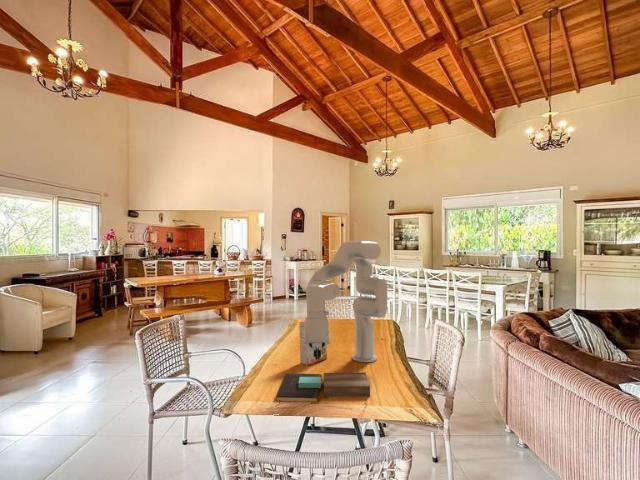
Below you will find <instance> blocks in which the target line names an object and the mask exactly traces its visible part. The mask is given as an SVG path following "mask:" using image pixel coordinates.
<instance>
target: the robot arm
mask: <svg viewBox="0 0 640 480" xmlns="http://www.w3.org/2000/svg"><path fill="white" fill-rule="evenodd" d="M381 253H382V249H381V246H380V244H379V243H378V242H376V241H365V240H346V241H344V242H342V243H341V244H340V246H339V248H338V249H337V251H336V253H335V254H334V256H333V258H332V259H331V261H330V262H328V263H326V264H325V265H323V266H322V267H320V268H319V269H317V270H316V271H315V272H314V273H313V274H312V276H311V278H310V280H309V282H308V284H307V286H306V289H305V291H306V294H305V295H306V316H305V319H304V321H305V328H304V338H305V341H304V345H307V346H310V347H311V348H312V349H313V350H314V357H315V360H317V356H318V360H319V357H321V349H322V348H323V347H324V346H325V345H327V346H329V345H330V344H331V341H330V328H329V319H328V315H330V312H329V311H327V310H326V301H331V300H332V301H333V300H335V299H337V298H338V296H339V295H340V293H341V291H340V289H341V288H340V285H339V284H338V283H336V282H334V281H328V280H330V279H333V278H335V277H340V276H342V275H345V274H346V273H347V272H348V271H349V269H350V267H351V266H352V263H354V265H355V289H356V292H357V293H358V294H361V295H367V296H356V297H355V298H354V299H353V302H352V311H353V316H354V353H353V354H352V355H351V359H352V360H354V361H355V362H358V363H372V362H376V361H377V359H378V356H377V355H376V354H375V351H374V350H375V347H374V344H375V342H374V341H375V340H374V339H375V334H374V332H375V331H374V327H375V325H374V322H373V320H372V317H373V318H380V319H381V318H385V316H386V315H387V311H388V282H387V280H386V279H385V277H383V276H378V275H374V273H373V272H374V270H373V264H372V262H371V260H377V259H378V258H379V257H380V256H381ZM371 296H375V297H371ZM315 343H319V346H318V348H317V347H316V345H315Z"/></svg>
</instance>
